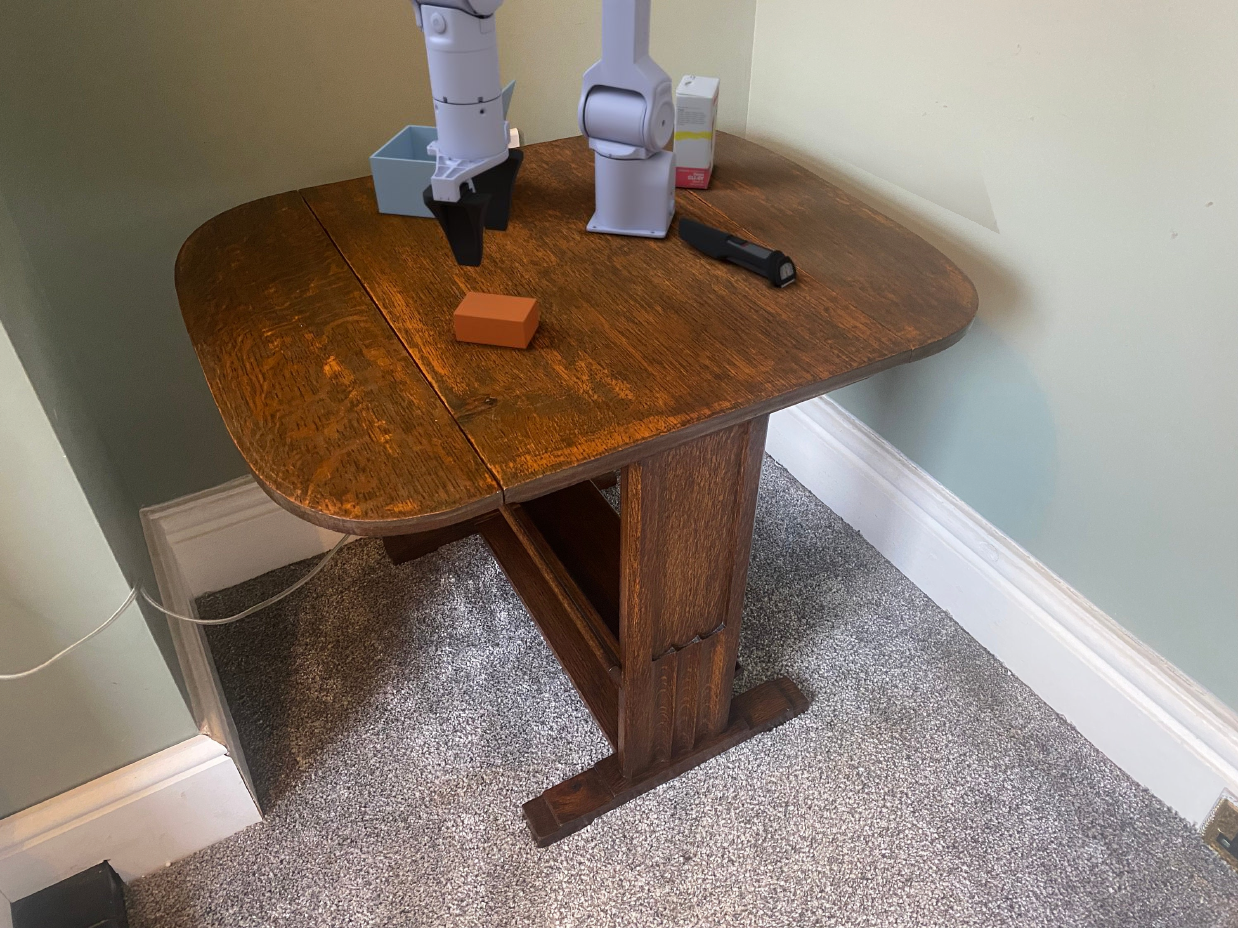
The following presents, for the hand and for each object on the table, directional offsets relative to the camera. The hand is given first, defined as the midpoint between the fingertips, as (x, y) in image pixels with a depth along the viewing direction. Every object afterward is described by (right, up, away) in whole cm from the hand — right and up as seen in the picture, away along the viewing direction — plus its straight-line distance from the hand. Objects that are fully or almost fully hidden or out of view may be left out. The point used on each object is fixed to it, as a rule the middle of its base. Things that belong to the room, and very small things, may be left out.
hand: (483, 246), depth 79 cm
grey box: (-10, +14, +29) cm, 34 cm away
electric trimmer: (+26, +2, +16) cm, 30 cm away
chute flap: (-2, +21, +21) cm, 30 cm away
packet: (+1, -7, +4) cm, 9 cm away
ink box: (+23, +18, +35) cm, 46 cm away
